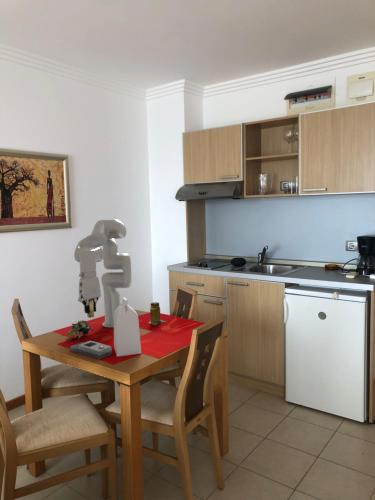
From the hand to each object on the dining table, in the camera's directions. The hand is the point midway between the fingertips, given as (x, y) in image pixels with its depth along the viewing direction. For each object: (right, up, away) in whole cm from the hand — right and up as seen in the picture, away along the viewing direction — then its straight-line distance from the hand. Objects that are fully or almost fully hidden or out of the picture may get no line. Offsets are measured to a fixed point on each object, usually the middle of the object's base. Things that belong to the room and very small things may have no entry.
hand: (90, 311), depth 201 cm
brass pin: (0, -2, 0) cm, 2 cm away
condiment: (+29, -14, +48) cm, 58 cm away
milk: (+18, -19, +2) cm, 26 cm away
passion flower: (-11, -18, +24) cm, 32 cm away
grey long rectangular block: (0, -20, +1) cm, 20 cm away
